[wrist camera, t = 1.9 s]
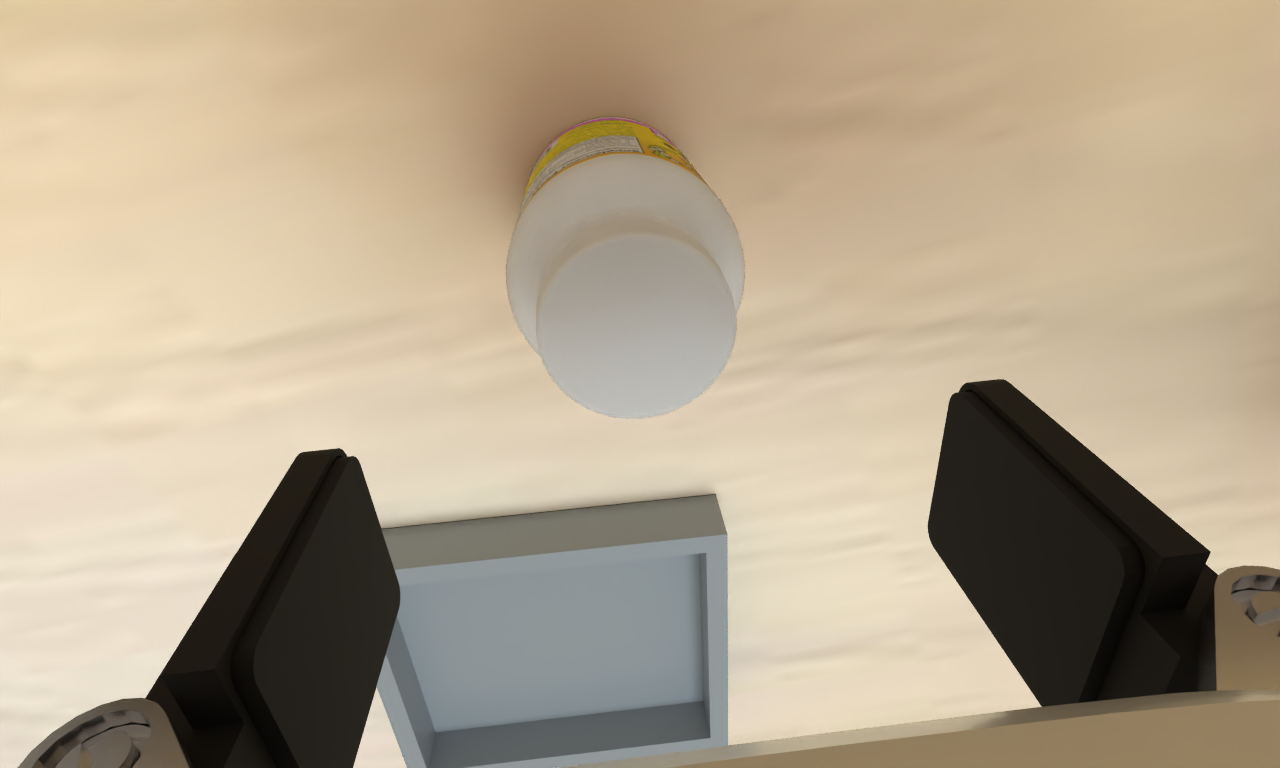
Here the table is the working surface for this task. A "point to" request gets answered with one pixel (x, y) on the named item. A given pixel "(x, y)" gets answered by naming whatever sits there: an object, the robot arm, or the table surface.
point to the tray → (560, 636)
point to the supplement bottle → (625, 270)
